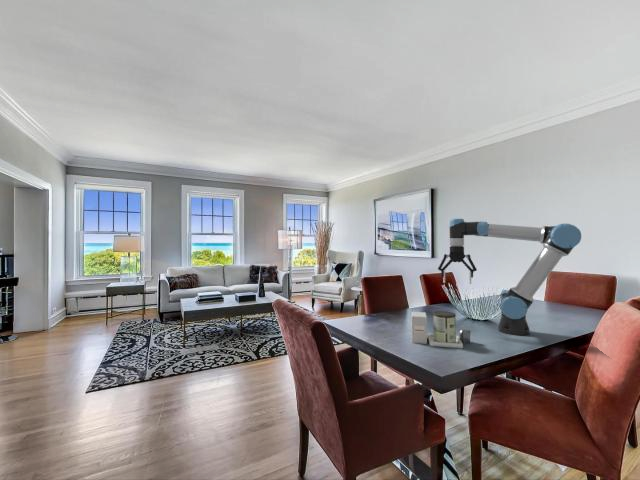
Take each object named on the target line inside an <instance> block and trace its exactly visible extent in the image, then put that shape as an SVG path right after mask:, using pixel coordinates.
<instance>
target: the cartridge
mask: <svg viewBox="0 0 640 480" xmlns="http://www.w3.org/2000/svg"><path fill="white" fill-rule="evenodd" d="M458 330H459V334H458V337H459V339H460V340H461V342H462V344H463V345H469V344H471V330H470V329H468V328H467V329H466V328H460V329H458Z"/></svg>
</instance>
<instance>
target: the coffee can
mask: <svg viewBox="0 0 640 480" xmlns="http://www.w3.org/2000/svg"><path fill="white" fill-rule="evenodd" d="M432 313H433V334H434V342H444V343H456V336H457V335H456V312H452V311H444V310H441V311H440V310H439V311H434V312H432Z"/></svg>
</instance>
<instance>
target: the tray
mask: <svg viewBox="0 0 640 480" xmlns="http://www.w3.org/2000/svg"><path fill="white" fill-rule="evenodd" d="M427 341H428V344H429V347H434V348H435V347H437V348H438V347H439V348H451V349H464V344H463V343H462V342H461V340H460V339H459V335H456V343H444V342H434V333H427Z"/></svg>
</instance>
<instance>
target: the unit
mask: <svg viewBox="0 0 640 480" xmlns="http://www.w3.org/2000/svg"><path fill="white" fill-rule="evenodd" d="M410 317H411V318H410V319H411V321H410V323H411V329H410V331H411V332H410V333H411V344H413V343H414V344H425V345H427V344H428V323H427V322H428V320H427V319H428V317H427V313H426V312H425V311H424V312H420V311H411V315H410Z"/></svg>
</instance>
